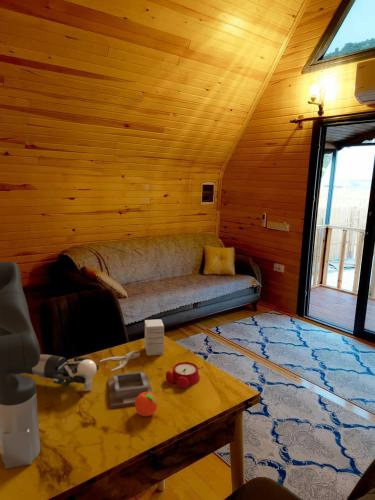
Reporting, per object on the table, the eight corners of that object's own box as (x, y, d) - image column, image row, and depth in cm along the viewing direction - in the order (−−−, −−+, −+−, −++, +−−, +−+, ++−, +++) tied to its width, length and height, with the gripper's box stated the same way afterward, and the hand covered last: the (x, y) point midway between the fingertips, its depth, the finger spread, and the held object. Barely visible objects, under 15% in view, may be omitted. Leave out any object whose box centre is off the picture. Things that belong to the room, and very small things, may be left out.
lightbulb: (77, 396, 123) (76, 366, 120) (78, 386, 129) (76, 357, 126) (97, 394, 124) (96, 364, 122) (97, 383, 130) (96, 355, 128)
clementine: (164, 413, 115) (164, 393, 113) (150, 425, 109) (150, 404, 108) (144, 404, 119) (144, 384, 118) (130, 415, 114) (129, 394, 112)
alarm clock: (207, 366, 137) (183, 375, 124) (204, 383, 137) (181, 393, 124) (184, 358, 142) (159, 365, 130) (181, 374, 143) (157, 383, 130)
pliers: (98, 358, 145) (131, 347, 155) (98, 362, 146) (131, 351, 156) (111, 368, 138) (144, 356, 148) (111, 372, 139) (144, 359, 148)
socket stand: (154, 402, 121) (154, 391, 120) (111, 408, 117) (110, 397, 116) (147, 376, 136) (147, 366, 135) (108, 381, 132) (107, 371, 131)
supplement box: (144, 347, 158) (144, 319, 155) (161, 346, 159) (161, 318, 157) (146, 356, 151) (146, 326, 148) (164, 354, 152) (164, 325, 150)
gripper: (35, 366, 121) (80, 374, 117) (61, 347, 135) (101, 353, 131) (37, 387, 123) (81, 395, 119) (62, 366, 136) (102, 373, 132)
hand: (91, 373), depth 125 cm, fingers open, 8 cm apart
